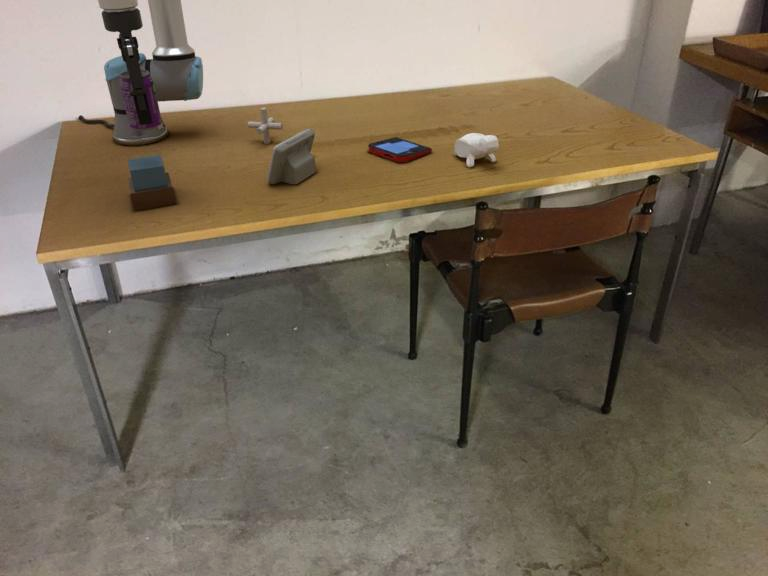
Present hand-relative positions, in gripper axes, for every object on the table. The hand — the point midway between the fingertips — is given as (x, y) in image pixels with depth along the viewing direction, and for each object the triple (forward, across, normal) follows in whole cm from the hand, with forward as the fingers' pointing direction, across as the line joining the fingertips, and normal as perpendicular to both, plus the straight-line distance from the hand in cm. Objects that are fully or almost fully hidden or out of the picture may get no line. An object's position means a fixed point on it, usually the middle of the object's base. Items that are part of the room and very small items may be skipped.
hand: (144, 118), depth 143 cm
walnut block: (+20, 0, +2) cm, 20 cm away
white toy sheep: (+20, -11, -81) cm, 84 cm away
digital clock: (+20, 0, -33) cm, 38 cm away
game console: (+20, +4, -64) cm, 68 cm away
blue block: (+15, 0, +2) cm, 15 cm away
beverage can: (+2, 0, 0) cm, 2 cm away
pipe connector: (+20, +27, -32) cm, 47 cm away
